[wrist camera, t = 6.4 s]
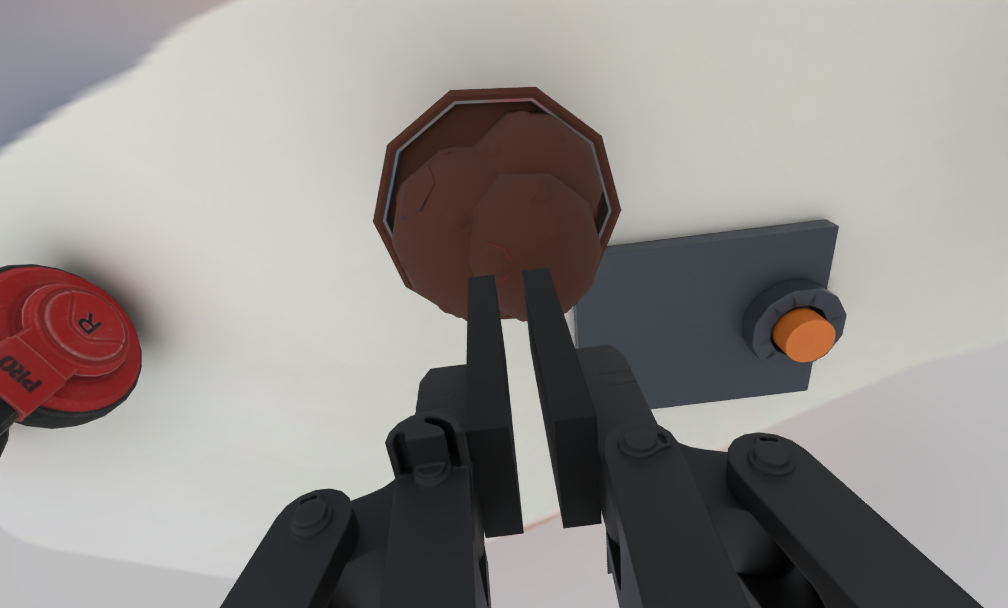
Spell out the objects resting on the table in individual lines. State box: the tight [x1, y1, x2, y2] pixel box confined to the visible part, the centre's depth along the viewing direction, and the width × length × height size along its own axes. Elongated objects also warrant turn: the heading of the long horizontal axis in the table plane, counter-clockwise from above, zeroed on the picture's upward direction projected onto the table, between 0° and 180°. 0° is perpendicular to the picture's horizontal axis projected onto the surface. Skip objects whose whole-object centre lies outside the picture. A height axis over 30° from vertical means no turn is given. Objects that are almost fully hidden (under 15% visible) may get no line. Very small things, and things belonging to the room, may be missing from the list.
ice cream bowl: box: [373, 87, 621, 322], centre depth 25 cm, size 11×11×15 cm
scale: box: [574, 220, 846, 409], centre depth 36 cm, size 18×13×3 cm
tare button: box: [773, 308, 836, 362], centre depth 34 cm, size 3×3×2 cm
